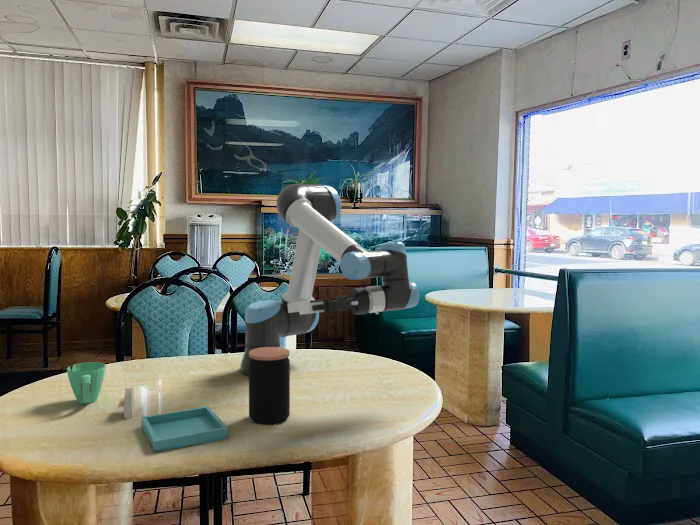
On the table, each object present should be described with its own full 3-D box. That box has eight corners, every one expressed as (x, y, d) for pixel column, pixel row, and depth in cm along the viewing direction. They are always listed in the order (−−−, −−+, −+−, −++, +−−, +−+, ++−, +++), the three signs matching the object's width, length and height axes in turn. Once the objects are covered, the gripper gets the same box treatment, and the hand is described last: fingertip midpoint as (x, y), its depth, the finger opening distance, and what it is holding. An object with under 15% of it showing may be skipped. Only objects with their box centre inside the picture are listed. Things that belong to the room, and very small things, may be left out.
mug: (68, 397, 162) (67, 364, 161) (105, 393, 166) (104, 360, 165) (67, 415, 149) (65, 378, 148) (107, 409, 153) (106, 374, 152)
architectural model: (117, 421, 147) (117, 393, 146) (121, 411, 153) (120, 385, 153) (131, 419, 148) (131, 392, 147) (134, 410, 154) (133, 384, 154)
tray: (141, 426, 142) (141, 416, 141) (208, 415, 150) (208, 405, 150) (154, 452, 127) (154, 441, 127) (228, 438, 135) (227, 427, 135)
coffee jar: (296, 414, 152) (296, 348, 150) (278, 428, 142) (278, 358, 140) (261, 409, 155) (260, 345, 153) (241, 423, 145) (240, 354, 143)
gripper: (384, 315, 148) (306, 325, 141) (353, 312, 171) (285, 320, 165) (381, 286, 148) (303, 295, 141) (350, 287, 172) (282, 294, 165)
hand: (293, 308), depth 153 cm, fingers open, 13 cm apart
